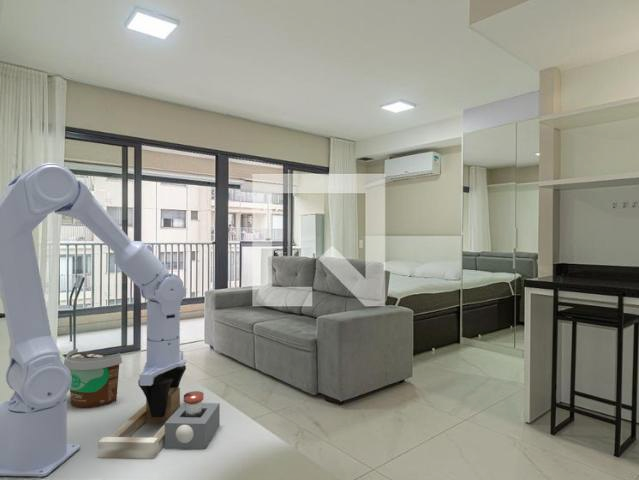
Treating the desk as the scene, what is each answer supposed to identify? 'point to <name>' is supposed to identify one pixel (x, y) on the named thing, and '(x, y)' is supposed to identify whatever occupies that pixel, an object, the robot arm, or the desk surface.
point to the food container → (92, 378)
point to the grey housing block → (192, 427)
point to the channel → (131, 440)
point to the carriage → (171, 407)
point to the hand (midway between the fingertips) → (163, 411)
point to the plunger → (194, 403)
